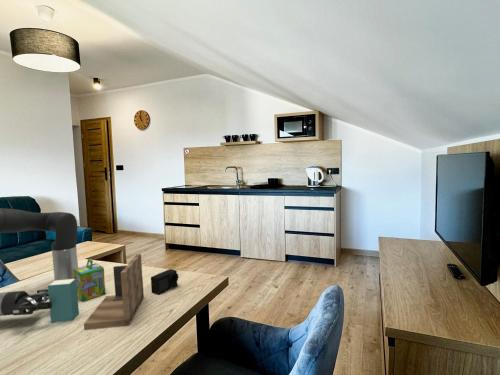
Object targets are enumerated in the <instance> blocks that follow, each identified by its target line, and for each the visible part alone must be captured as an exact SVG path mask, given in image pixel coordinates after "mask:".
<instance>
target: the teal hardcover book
mask: <svg viewBox="0 0 500 375" xmlns="http://www.w3.org/2000/svg"><path fill="white" fill-rule="evenodd" d="M47 289H48V294H49V299H48V302H52V308H51V309H49V312H50V322H51V323H62V322H63V323H64V322H73V321H75V319H76V318H77V317H78V316H79V315H80V308H79V299H78V295H77V283H76V279H67V280H53V282H51V283H50V284H48V285H47Z"/></svg>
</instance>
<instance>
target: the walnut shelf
mask: <svg viewBox="0 0 500 375" xmlns="http://www.w3.org/2000/svg"><path fill="white" fill-rule="evenodd" d="M142 266H143V265H142V254H141V253H136V255H135V256H134V257H133V258H132V259H131V261H129V263H128V264H127V265H115V266H113V281H114V293H115V294H114V295H106V296H105V297H104V299H103V300H101V302H100V303H99V304H98V306H97V307H96V308H95V309H94V310H93V312H92V313H91V314H90V315H89V317H88V318H87V319H86V320H85V322H84V323H83V329H84V330H94V329H95V330H96V329H104V328H113V327H114V328H115V327H123V326H124V327H125V326H130V325H131V323H132V321H133V319H134V317H135V315H136V313H137V311H138V310H139V308H140V306H141V304H142V302H143V300H144V297H145V296H144V281H143V280H144V279H143V267H142Z"/></svg>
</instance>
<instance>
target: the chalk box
mask: <svg viewBox="0 0 500 375" xmlns="http://www.w3.org/2000/svg"><path fill="white" fill-rule="evenodd" d="M93 262H94V260H93V259H90V258H87V263H86V265H83V266H78V268H75V269H73V279H76V283H77V295H78V300H79V301H81V302H82V303H84V302H85V301H88V300H92V299H94V298H98V297H100V296H103V295H106V285H105V284H106V283H105V269H104V266H102V265H101V264H98V263H93Z"/></svg>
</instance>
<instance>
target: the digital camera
mask: <svg viewBox="0 0 500 375" xmlns="http://www.w3.org/2000/svg"><path fill="white" fill-rule="evenodd" d="M178 280H179V274H178V271H177V270H176V269H172V268H169V269H167V270H164V271H161V272H159V273H157V274H154V275H153V276H150V284H151V287H150V288H151V293H152V294H153V295H157V296H159V295H162V294H163V293H166V292H168V291H170V290H171V289H174V288H176V287H178Z"/></svg>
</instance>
